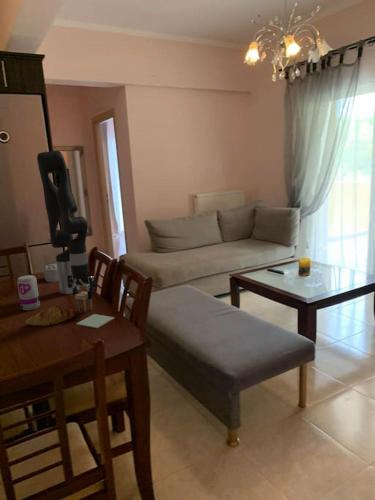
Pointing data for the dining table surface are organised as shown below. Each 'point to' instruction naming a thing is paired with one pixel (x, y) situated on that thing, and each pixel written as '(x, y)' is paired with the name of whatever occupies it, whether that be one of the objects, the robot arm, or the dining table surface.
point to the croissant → (52, 316)
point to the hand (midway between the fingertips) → (83, 297)
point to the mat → (95, 321)
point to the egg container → (51, 272)
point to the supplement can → (28, 292)
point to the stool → (83, 296)
